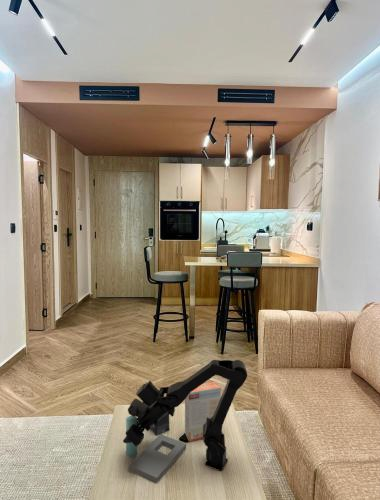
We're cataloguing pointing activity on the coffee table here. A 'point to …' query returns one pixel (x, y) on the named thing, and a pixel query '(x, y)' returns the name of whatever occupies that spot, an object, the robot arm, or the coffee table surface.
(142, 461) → the socket plate
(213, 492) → the coffee table surface
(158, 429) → the small box
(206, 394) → the cracker box
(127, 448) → the peg
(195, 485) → the coffee table surface
